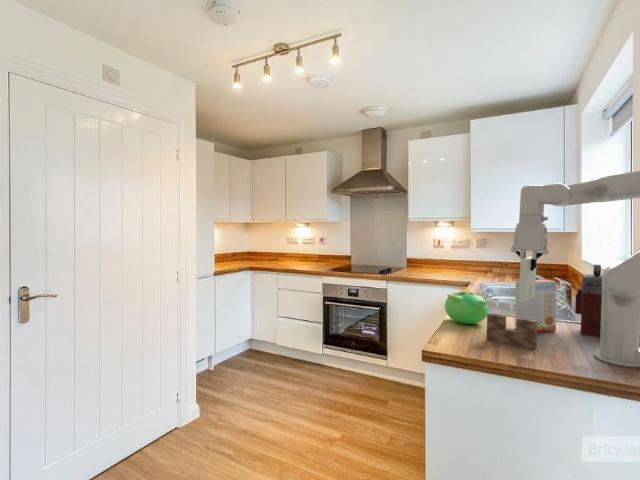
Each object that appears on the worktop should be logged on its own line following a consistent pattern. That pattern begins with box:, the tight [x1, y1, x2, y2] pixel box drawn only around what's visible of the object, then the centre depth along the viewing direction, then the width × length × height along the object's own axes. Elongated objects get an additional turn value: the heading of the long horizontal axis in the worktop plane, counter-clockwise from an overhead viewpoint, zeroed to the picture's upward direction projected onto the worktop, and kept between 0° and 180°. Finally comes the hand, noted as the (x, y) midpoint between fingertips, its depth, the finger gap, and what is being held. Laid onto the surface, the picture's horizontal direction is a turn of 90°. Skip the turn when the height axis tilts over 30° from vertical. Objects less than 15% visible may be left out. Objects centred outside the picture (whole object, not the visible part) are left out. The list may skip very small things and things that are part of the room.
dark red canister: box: [574, 264, 602, 338], centre depth 139 cm, size 9×11×28 cm
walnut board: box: [486, 312, 538, 351], centre depth 127 cm, size 16×2×10 cm, turn 48°
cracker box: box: [515, 279, 557, 333], centre depth 144 cm, size 14×6×21 cm, turn 92°
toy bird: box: [444, 289, 489, 325], centre depth 154 cm, size 18×17×15 cm
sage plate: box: [518, 256, 538, 302], centre depth 127 cm, size 2×14×15 cm, turn 136°
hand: (528, 269), depth 127 cm, fingers closed on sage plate, 2 cm apart
